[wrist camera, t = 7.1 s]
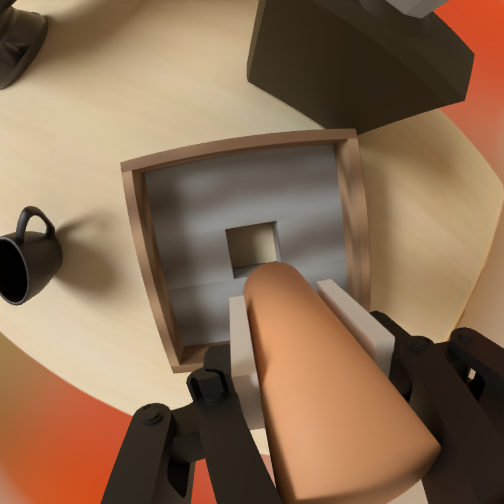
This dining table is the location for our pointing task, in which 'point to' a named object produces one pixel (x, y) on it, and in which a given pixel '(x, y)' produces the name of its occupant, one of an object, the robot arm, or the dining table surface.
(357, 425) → the peg
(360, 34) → the bottle
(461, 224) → the dining table surface
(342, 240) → the crate
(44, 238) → the mug
